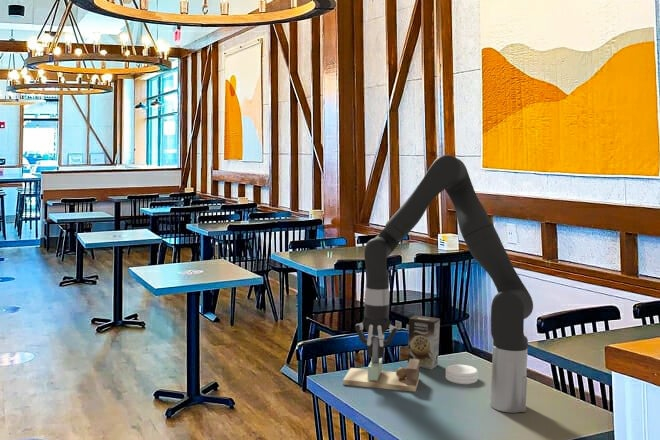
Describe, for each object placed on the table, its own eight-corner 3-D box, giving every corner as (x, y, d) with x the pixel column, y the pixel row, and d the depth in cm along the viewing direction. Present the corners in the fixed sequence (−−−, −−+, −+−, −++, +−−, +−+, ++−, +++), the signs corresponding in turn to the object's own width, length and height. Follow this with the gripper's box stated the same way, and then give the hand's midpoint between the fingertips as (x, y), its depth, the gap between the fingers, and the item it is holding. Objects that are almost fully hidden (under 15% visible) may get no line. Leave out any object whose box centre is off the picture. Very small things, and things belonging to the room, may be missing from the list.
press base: (419, 378, 196) (419, 358, 195) (415, 391, 184) (416, 370, 184) (350, 372, 201) (351, 352, 200) (342, 384, 189) (343, 363, 189)
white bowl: (484, 382, 194) (484, 371, 194) (456, 386, 190) (457, 375, 190) (465, 373, 203) (466, 362, 203) (439, 376, 200) (439, 365, 199)
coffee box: (406, 365, 210) (408, 318, 208) (413, 360, 215) (414, 314, 214) (432, 369, 205) (434, 321, 204) (438, 364, 211) (440, 317, 210)
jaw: (382, 370, 197) (383, 333, 196) (377, 380, 188) (378, 341, 187) (372, 369, 198) (373, 332, 197) (367, 379, 188) (368, 340, 187)
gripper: (400, 301, 193) (399, 355, 194) (356, 298, 196) (355, 352, 198) (398, 306, 186) (396, 362, 187) (352, 303, 189) (351, 358, 190)
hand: (375, 357), depth 192 cm, fingers closed on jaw, 2 cm apart
